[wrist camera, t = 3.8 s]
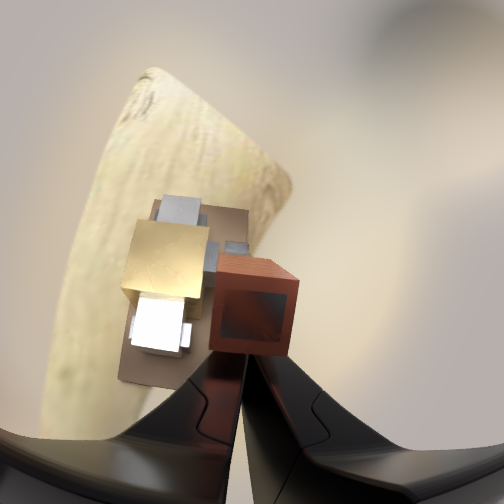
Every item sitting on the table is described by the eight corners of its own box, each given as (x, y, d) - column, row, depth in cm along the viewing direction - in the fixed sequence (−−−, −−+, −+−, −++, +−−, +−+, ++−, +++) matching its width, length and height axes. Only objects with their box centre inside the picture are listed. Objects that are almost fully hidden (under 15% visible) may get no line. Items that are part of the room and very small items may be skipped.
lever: (246, 274, 18) (286, 361, 6) (218, 271, 18) (207, 354, 6) (250, 243, 18) (300, 274, 6) (221, 239, 18) (217, 265, 6)
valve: (207, 362, 19) (207, 349, 15) (130, 351, 19) (106, 334, 14) (222, 228, 24) (227, 184, 19) (156, 221, 23) (147, 176, 19)
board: (232, 396, 20) (234, 395, 18) (122, 380, 19) (117, 379, 18) (246, 218, 26) (248, 210, 25) (156, 207, 25) (154, 199, 24)
